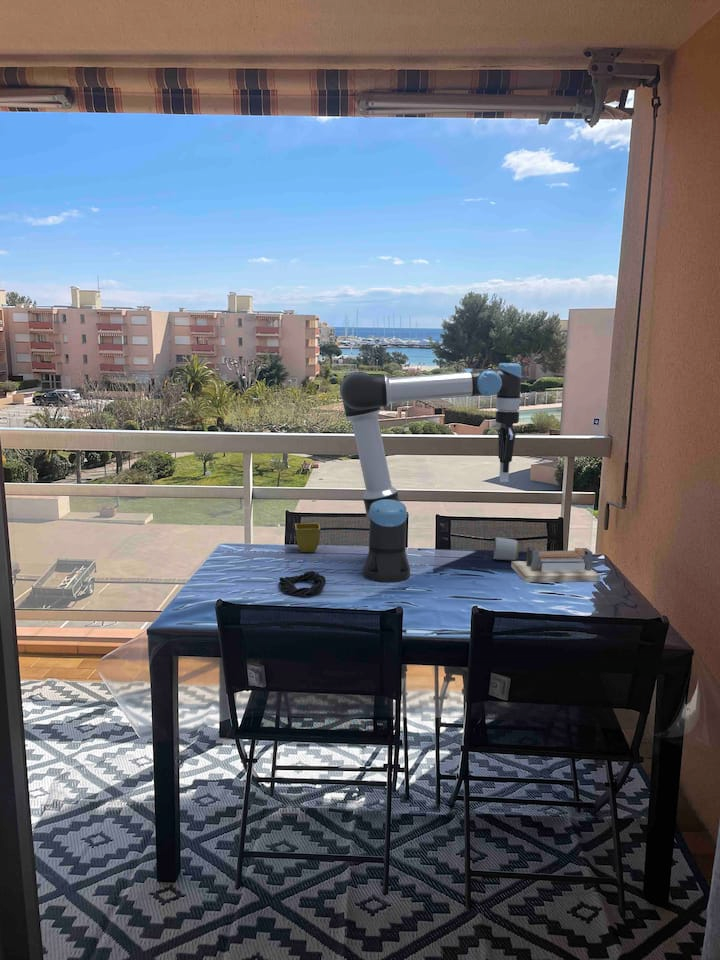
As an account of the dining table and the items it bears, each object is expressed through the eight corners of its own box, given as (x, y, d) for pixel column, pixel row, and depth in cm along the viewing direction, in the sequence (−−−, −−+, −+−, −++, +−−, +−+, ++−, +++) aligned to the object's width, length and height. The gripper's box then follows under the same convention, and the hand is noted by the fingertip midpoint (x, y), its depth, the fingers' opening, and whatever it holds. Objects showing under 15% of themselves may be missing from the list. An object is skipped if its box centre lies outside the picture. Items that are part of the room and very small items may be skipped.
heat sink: (533, 573, 238) (535, 553, 237) (524, 563, 249) (525, 544, 248) (594, 572, 240) (595, 553, 239) (582, 563, 250) (583, 544, 249)
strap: (533, 558, 241) (533, 552, 241) (530, 555, 245) (530, 549, 244) (584, 557, 243) (584, 550, 242) (580, 554, 246) (580, 547, 246)
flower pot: (294, 547, 271) (294, 523, 269) (318, 547, 272) (319, 522, 270) (295, 554, 262) (295, 529, 260) (320, 553, 263) (320, 528, 261)
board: (525, 581, 236) (525, 575, 236) (511, 566, 252) (511, 561, 251) (599, 581, 238) (599, 575, 237) (580, 566, 254) (581, 560, 253)
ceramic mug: (518, 563, 256) (519, 541, 255) (494, 561, 257) (495, 540, 256) (515, 555, 267) (516, 534, 265) (492, 554, 268) (493, 533, 266)
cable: (326, 599, 218) (327, 584, 217) (278, 599, 216) (278, 585, 216) (324, 580, 235) (324, 567, 234) (278, 581, 233) (278, 567, 232)
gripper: (524, 412, 240) (520, 485, 244) (513, 409, 253) (509, 478, 257) (501, 412, 239) (497, 485, 243) (491, 408, 252) (487, 478, 256)
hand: (503, 481), depth 250 cm, fingers closed
